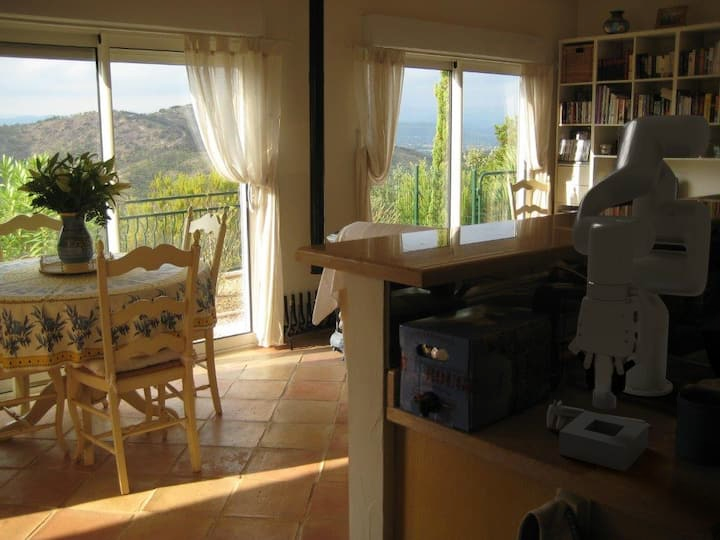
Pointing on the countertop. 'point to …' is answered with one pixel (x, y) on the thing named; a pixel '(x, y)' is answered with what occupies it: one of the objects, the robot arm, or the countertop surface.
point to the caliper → (570, 415)
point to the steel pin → (604, 381)
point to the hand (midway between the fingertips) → (605, 390)
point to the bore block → (604, 440)
